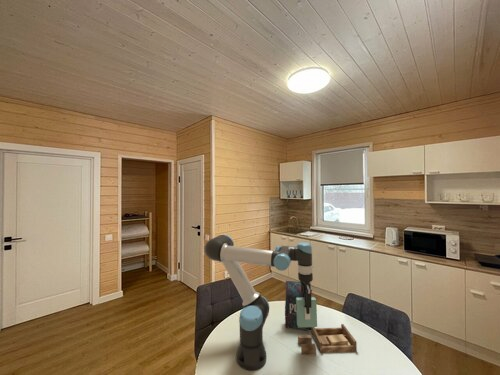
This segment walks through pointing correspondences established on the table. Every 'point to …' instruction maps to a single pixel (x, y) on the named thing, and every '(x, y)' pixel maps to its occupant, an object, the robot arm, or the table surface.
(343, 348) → the wooden tray
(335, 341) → the offcut
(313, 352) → the stand
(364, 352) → the table surface
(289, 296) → the dark coffee bag
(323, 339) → the offcut
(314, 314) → the pale green block
